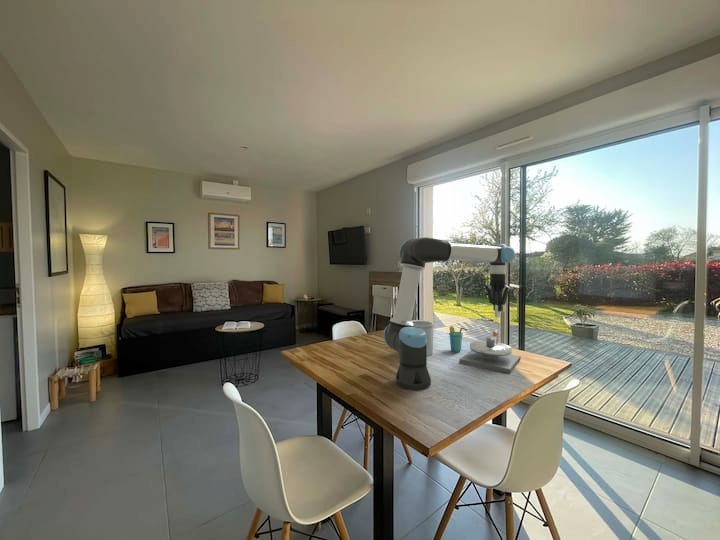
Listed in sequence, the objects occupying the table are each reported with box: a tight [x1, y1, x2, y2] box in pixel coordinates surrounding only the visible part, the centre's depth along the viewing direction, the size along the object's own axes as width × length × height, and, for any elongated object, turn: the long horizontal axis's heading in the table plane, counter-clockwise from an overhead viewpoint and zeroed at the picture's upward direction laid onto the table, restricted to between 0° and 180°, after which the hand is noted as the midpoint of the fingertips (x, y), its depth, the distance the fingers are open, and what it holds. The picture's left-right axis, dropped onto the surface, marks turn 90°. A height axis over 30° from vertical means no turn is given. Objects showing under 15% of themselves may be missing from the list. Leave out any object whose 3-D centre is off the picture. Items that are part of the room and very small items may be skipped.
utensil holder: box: [412, 319, 435, 357], centre depth 174 cm, size 15×15×18 cm
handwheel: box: [469, 330, 513, 356], centre depth 158 cm, size 20×20×8 cm
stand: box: [458, 349, 522, 374], centre depth 159 cm, size 24×24×6 cm
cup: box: [448, 325, 468, 353], centre depth 175 cm, size 14×8×15 cm, turn 30°
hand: (497, 317), depth 162 cm, fingers closed
